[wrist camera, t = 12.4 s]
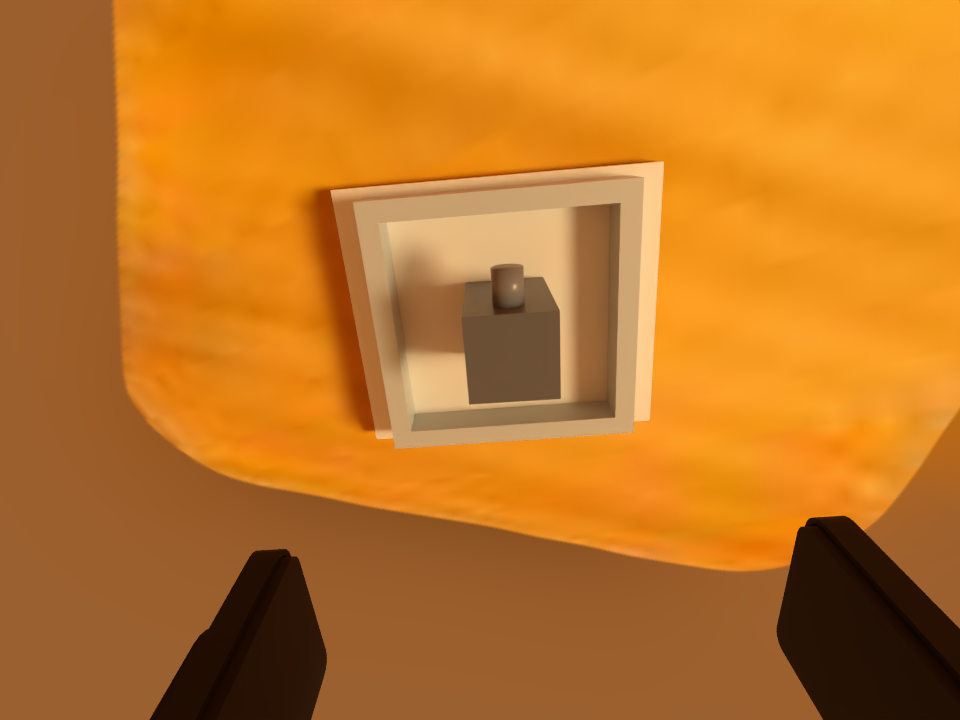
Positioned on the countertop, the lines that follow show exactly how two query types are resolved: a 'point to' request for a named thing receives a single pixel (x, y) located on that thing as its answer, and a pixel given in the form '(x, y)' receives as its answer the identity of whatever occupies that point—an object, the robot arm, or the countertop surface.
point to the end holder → (468, 258)
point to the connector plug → (511, 338)
